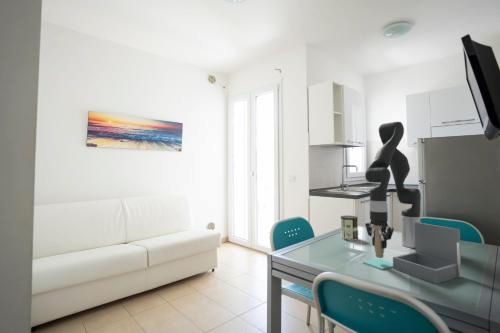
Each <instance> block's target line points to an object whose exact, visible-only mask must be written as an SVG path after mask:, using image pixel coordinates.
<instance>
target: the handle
mask: <svg viewBox="0 0 500 333" xmlns="http://www.w3.org/2000/svg"><path fill="white" fill-rule="evenodd" d="M371 227H372V228H373V229H375V244H374V245H375V246H374V253H375V257H376V258H377V259H383V258H384V253H385V249H382V248H381V240H382V239H381V236H380V234H379V228H378V227H379V226H378V225H373V224H371ZM380 228H381V229H382V226H380ZM382 233H383V232H382Z"/></svg>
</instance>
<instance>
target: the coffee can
mask: <svg viewBox="0 0 500 333" xmlns="http://www.w3.org/2000/svg"><path fill="white" fill-rule="evenodd" d="M358 219H359V218H358V216H356V215H341V216H340V227H341V228H340V229H341V230H340V232H341V236H340V237H342V238H343V239H342V238H341V239H342V240H344V239H347V240H346V241H358V240H359V232H358V230H359V226H358ZM357 239H358V240H357Z"/></svg>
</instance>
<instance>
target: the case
mask: <svg viewBox="0 0 500 333" xmlns="http://www.w3.org/2000/svg"><path fill="white" fill-rule="evenodd" d="M460 230H461V229H459V228H454V227H449V226H448V227H447V226H441V225H434V224H429V223H424V222H423V223H422V222H420V223H418V222H415V248H414V250H415V251H414V252H410V253H406V254H402V255H398V256H397V255H396V256H393V257H392V263H393V267H392V268H393V269H394V270H396V271H399V272H401V273H405V274H408V275H410V276H413V277H416V278H419V279H422V280H424V281H427V282H430V283H433V284H441V283H443V282H446V281H449V280H452V279H455V278H459V279H460V278H461V262H462V259H461V258H462V257H461V256H462V255H461V254H462V253H461V231H460Z"/></svg>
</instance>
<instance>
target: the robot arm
mask: <svg viewBox="0 0 500 333" xmlns="http://www.w3.org/2000/svg"><path fill="white" fill-rule="evenodd" d="M404 134H405V127H404V125H403V123H402V122H401V121H393V122H387V123H382V124H380V125H379V126H378V135H379V138H380V141H381V144H382V146H381V147H380V148H379V149H378V151H377V152H376V154H375V157H374V160H373V161H372V162H371V164H370V165H369V166H368V167H367V168H366V171H365V175H364V177H365V179H366V181H367V182H368V183H377V184H378V183H379V186H378V187H377V186H376V187H372V188H370V189H369V220H370V221H369V222H367V223H365V228H366V233H367V236H369V237H371V245H372V246H373V247H375V245H374V244H375V229H373V228H372V227H371V224H373V225H378V226H379V227H378V228H379V234H380V236H381V239H382V240H381V248H382V249H384V250H385V249H387V246H388V243H387V241H390V240H392V236H393V234H394V230H395V228H394V227H393V226H392V227H390V226H389V224H388V220H389V217H388V216H389V215H388V212H389V211H388V201H387V198H388V196H387V192H388V187H389V186H388V185H389V184H390V180H391V175H392V177H393V181H394V184H395V190H396V195H397V198H398V201H399V203H400V204H404V205H411V207H409V208H407V209H402V210H401V212H400V213H401V243H402V244H401V245H402V246H403V247H406V248H409V249H410V248H413V249H415V222H418V223H421V202H422V201H421V200H422V198H421V197H422V196H421V195H422V194H421V190H420V189H419V188H416V187H415V188H408V187H405V185H404V183H405V180H406V179H407V178H408V176H409V173H410V171H411V167H410V163H409V160H408V157H407V156H406V155H405V154H404V153H403V152H402V151H401V150H400V149H398V148H397V147H398V146H399V144H400V142H401V141H402V139H403V137H404ZM389 168H390V169H389ZM380 226H382V229H381V228H380ZM382 232H383V233H382Z"/></svg>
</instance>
